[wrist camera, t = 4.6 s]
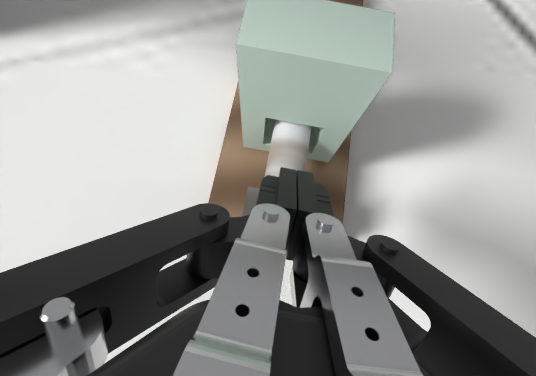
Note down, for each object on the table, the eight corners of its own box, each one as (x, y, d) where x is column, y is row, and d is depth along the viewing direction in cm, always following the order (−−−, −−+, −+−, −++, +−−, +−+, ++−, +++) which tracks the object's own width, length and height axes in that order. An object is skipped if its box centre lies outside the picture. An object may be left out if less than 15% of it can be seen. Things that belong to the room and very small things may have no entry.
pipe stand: (334, 254, 25) (366, 249, 18) (205, 231, 25) (186, 216, 18) (360, -15, 35) (387, -86, 28) (268, -32, 35) (272, -107, 28)
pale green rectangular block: (328, 162, 25) (392, 72, 14) (243, 146, 25) (235, 43, 14) (332, 124, 26) (394, 13, 15) (251, 109, 26) (250, -14, 15)
